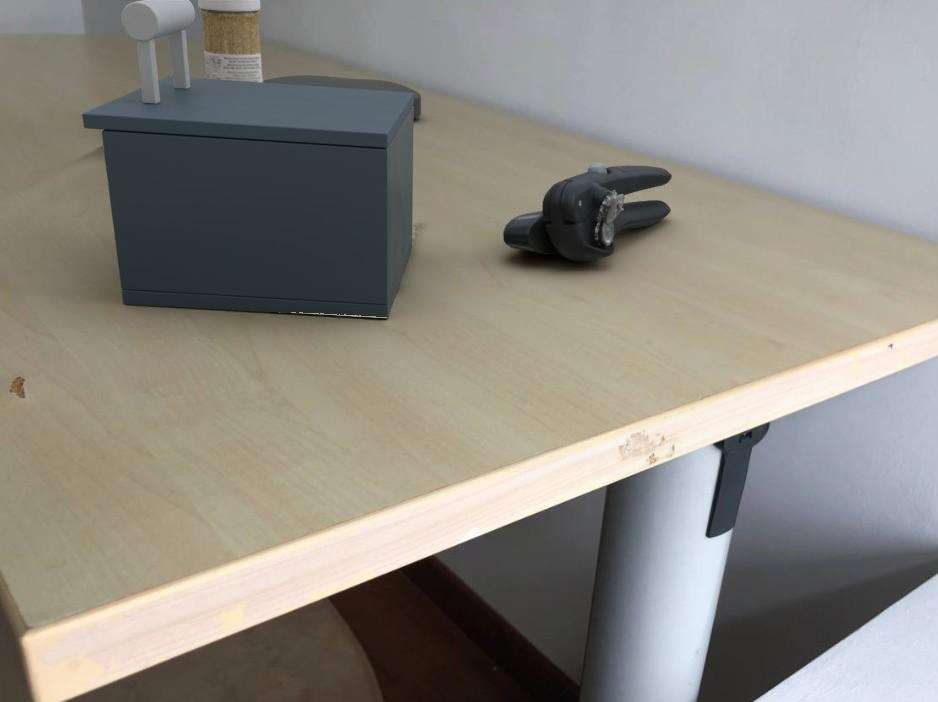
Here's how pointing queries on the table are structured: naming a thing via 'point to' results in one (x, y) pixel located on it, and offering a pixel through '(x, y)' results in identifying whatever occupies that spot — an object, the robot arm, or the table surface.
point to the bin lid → (238, 96)
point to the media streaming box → (349, 85)
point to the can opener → (589, 212)
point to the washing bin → (260, 222)
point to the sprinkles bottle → (231, 39)
